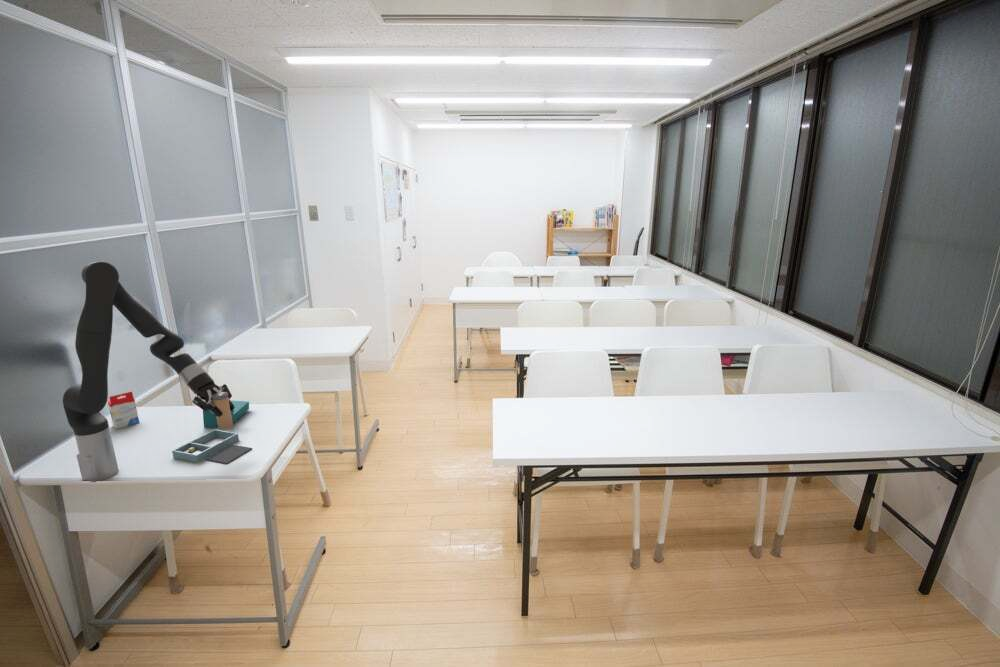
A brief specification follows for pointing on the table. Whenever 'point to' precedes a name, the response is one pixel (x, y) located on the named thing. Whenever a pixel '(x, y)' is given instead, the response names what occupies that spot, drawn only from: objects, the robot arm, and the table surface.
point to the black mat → (228, 454)
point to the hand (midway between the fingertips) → (227, 412)
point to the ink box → (123, 410)
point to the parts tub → (204, 446)
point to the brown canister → (223, 410)
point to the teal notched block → (238, 411)
